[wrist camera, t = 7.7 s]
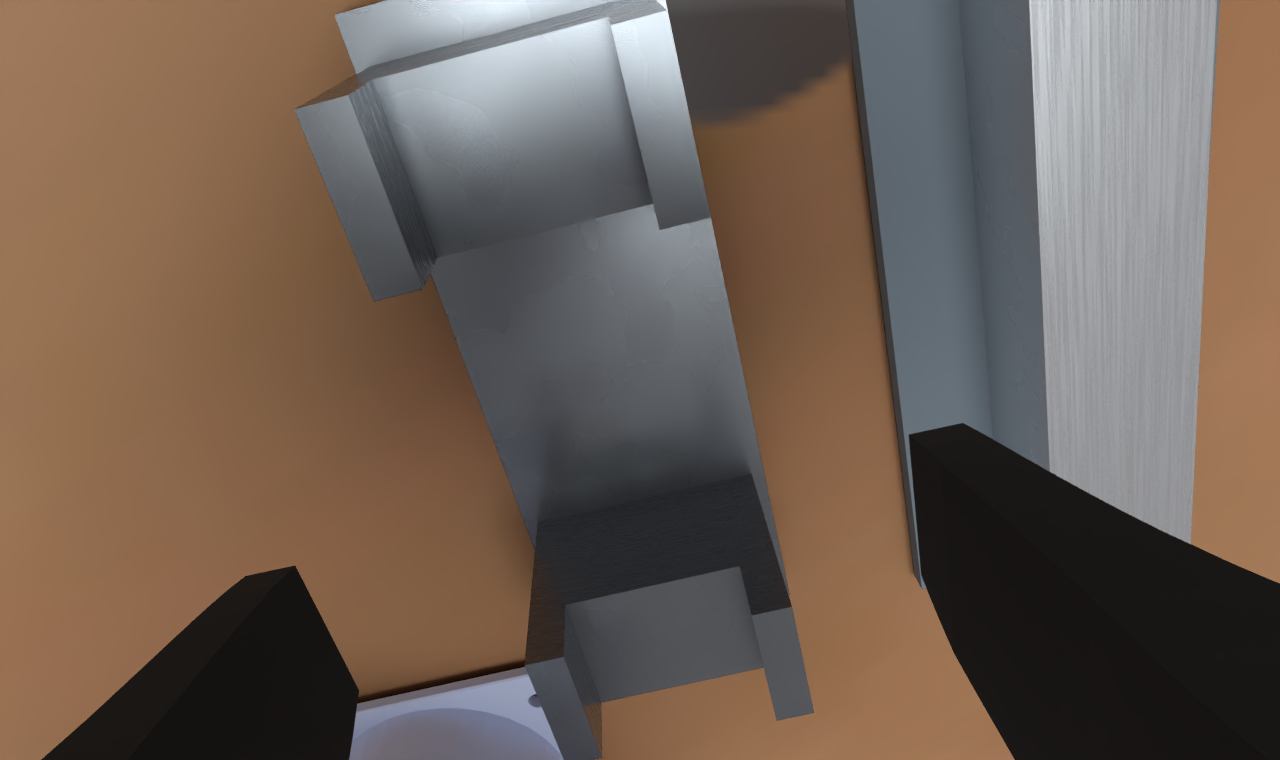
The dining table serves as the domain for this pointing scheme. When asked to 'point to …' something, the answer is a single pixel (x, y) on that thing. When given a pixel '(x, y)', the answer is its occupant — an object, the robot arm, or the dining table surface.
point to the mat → (923, 216)
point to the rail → (1094, 236)
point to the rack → (575, 326)
